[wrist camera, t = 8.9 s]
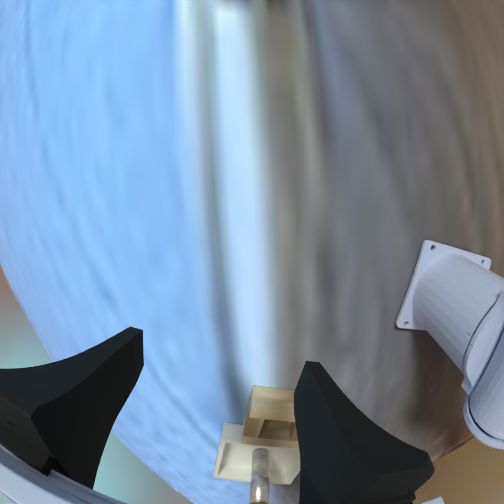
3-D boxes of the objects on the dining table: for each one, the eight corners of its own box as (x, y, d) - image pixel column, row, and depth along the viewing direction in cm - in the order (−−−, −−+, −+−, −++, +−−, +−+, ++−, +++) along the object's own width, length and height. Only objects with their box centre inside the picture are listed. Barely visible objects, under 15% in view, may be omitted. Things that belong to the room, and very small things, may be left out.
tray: (312, 431, 26) (315, 447, 24) (289, 470, 29) (290, 484, 27) (223, 422, 26) (221, 439, 24) (215, 462, 29) (213, 477, 26)
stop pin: (271, 447, 27) (271, 508, 18) (270, 456, 27) (270, 515, 19) (250, 446, 27) (247, 508, 18) (250, 456, 27) (247, 515, 19)
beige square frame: (314, 392, 24) (318, 413, 22) (297, 427, 26) (299, 448, 23) (253, 385, 24) (251, 407, 21) (242, 422, 26) (241, 443, 23)
